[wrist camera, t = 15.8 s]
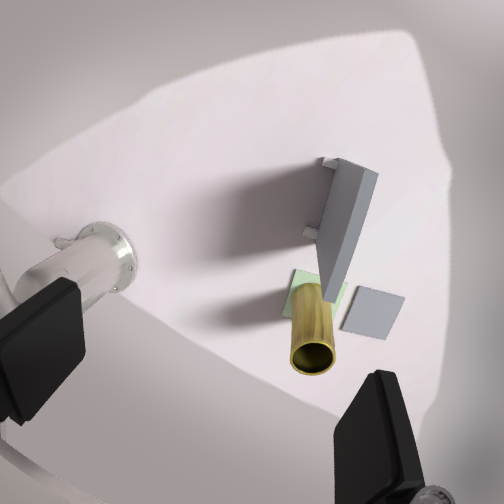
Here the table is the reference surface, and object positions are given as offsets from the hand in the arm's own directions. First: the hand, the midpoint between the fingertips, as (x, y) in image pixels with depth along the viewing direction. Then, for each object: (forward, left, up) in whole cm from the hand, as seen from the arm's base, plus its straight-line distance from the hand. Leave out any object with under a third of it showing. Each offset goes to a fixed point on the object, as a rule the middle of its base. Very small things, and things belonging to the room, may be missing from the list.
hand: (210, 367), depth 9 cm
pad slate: (+19, -15, -36) cm, 44 cm away
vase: (+9, -15, -36) cm, 40 cm away
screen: (+7, 0, -36) cm, 37 cm away
